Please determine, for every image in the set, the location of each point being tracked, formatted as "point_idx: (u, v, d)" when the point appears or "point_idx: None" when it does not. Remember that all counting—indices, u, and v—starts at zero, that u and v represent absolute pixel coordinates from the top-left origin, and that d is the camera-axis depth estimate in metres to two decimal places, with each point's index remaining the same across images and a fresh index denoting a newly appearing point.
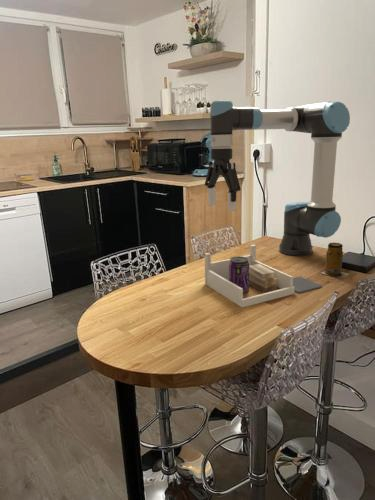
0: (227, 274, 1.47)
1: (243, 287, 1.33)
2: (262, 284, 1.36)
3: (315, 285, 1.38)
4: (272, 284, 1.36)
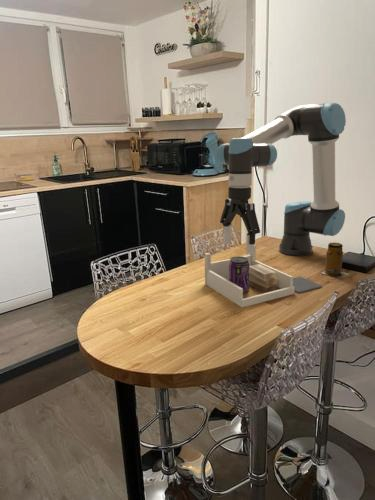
0: (227, 274, 1.47)
1: (243, 287, 1.33)
2: (263, 284, 1.35)
3: (315, 285, 1.38)
4: (273, 284, 1.36)
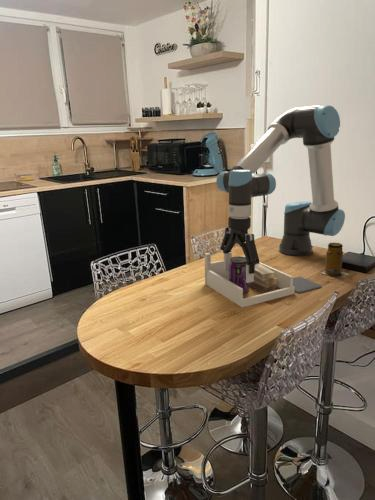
0: (227, 274, 1.47)
1: (243, 287, 1.33)
2: (263, 284, 1.35)
3: (315, 285, 1.38)
4: (273, 284, 1.36)
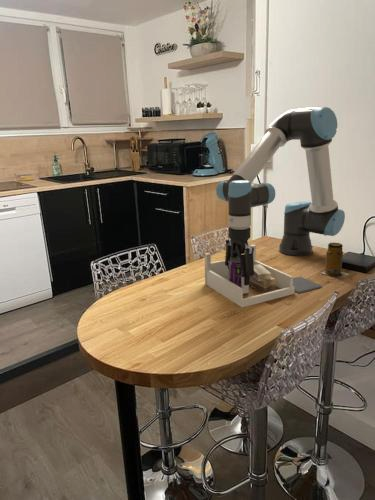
0: (227, 274, 1.47)
1: None
2: (261, 284, 1.36)
3: (315, 285, 1.38)
4: (271, 284, 1.36)
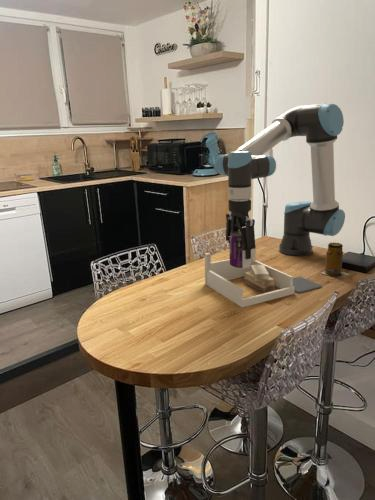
0: (227, 274, 1.47)
1: None
2: (259, 284, 1.36)
3: (315, 285, 1.38)
4: (269, 284, 1.36)
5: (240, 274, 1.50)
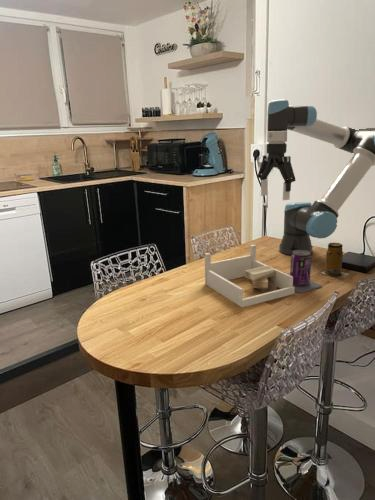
0: (227, 274, 1.47)
1: (305, 280, 1.36)
2: None
3: (315, 285, 1.38)
4: (262, 286, 1.34)
5: (240, 274, 1.50)
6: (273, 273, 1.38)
